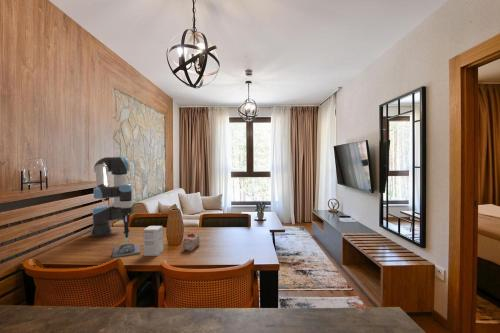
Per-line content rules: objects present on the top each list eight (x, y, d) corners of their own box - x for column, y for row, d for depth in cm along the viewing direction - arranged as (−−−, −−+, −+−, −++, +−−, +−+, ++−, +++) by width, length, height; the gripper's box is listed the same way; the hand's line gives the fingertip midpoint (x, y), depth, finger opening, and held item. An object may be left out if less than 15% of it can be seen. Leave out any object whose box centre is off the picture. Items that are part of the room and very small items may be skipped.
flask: (119, 249, 172) (119, 254, 163) (119, 245, 172) (118, 250, 163) (134, 247, 177) (135, 252, 167) (134, 243, 177) (135, 247, 167)
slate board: (114, 249, 177) (114, 247, 177) (139, 245, 184) (139, 243, 184) (112, 257, 161) (112, 256, 161) (140, 253, 167) (140, 251, 167)
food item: (193, 252, 169) (192, 237, 169) (181, 251, 171) (181, 236, 170) (200, 245, 183) (200, 231, 183) (189, 244, 184) (189, 231, 184)
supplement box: (149, 250, 173) (149, 225, 172) (163, 250, 173) (163, 225, 172) (143, 256, 163) (142, 229, 163) (158, 255, 163) (157, 229, 163)
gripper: (120, 206, 179) (121, 240, 179) (119, 209, 167) (120, 245, 167) (132, 205, 182) (132, 238, 182) (132, 208, 170) (132, 243, 170)
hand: (126, 241), depth 175 cm, fingers closed
